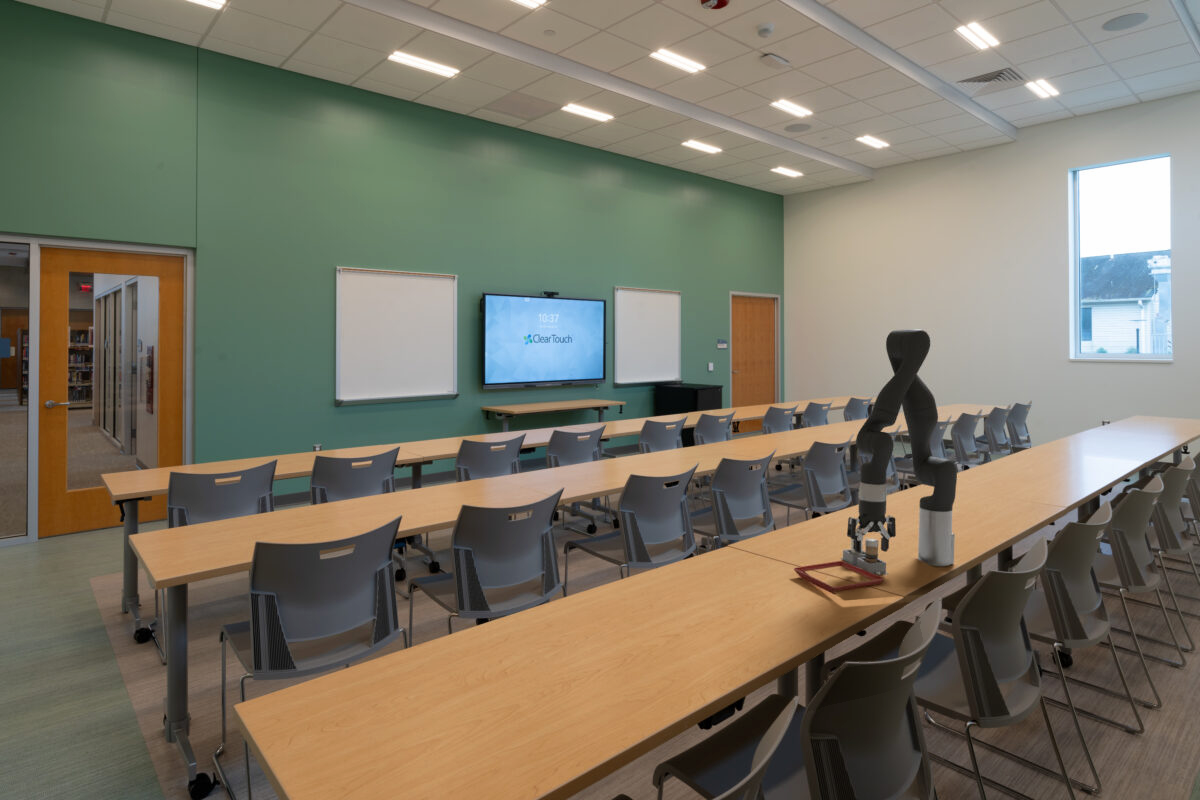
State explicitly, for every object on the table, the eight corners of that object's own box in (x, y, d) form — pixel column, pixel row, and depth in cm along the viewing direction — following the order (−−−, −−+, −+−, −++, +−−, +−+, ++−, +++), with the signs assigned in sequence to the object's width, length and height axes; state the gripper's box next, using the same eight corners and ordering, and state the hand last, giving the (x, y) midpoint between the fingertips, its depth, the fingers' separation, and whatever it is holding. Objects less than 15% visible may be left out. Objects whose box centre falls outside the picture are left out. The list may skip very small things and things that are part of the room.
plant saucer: (792, 578, 194) (792, 567, 194) (841, 570, 201) (841, 559, 200) (833, 599, 177) (834, 587, 177) (885, 590, 184) (886, 578, 184)
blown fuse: (873, 567, 197) (873, 538, 196) (880, 571, 193) (880, 541, 193) (862, 568, 196) (862, 539, 196) (869, 572, 193) (869, 542, 192)
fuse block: (858, 561, 207) (858, 547, 207) (889, 578, 192) (889, 563, 191) (840, 562, 206) (840, 548, 206) (869, 580, 191) (869, 565, 190)
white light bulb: (858, 559, 205) (859, 531, 204) (865, 563, 201) (865, 534, 201) (848, 560, 204) (848, 531, 204) (854, 563, 201) (854, 535, 200)
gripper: (887, 494, 198) (885, 547, 199) (843, 495, 196) (842, 549, 197) (902, 499, 191) (900, 554, 192) (857, 501, 188) (855, 556, 190)
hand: (870, 551), depth 194 cm, fingers open, 8 cm apart
